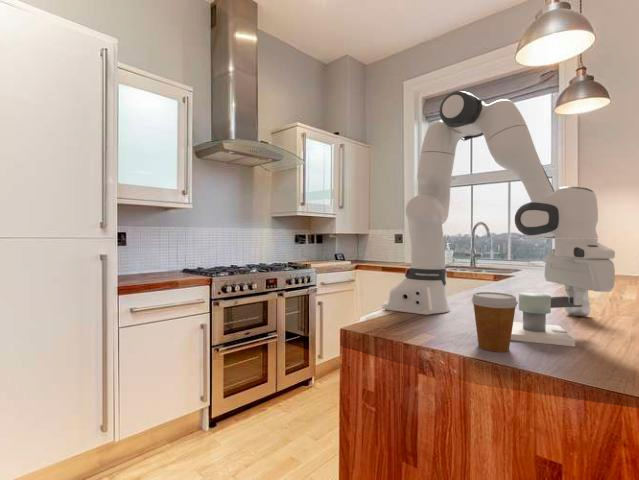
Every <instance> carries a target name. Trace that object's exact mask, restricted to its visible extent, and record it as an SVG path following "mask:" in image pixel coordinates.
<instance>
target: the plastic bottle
mask: <svg viewBox="0 0 639 480" xmlns="http://www.w3.org/2000/svg"><path fill="white" fill-rule="evenodd" d="M567 296H568V295H567V294H566V297H567ZM589 296H590V295H589V290H587V289H586V293H585V294H584V296H583V298H582V307H564V311H565V312H566V314H567V315H570V316H573V317H578V318H579V317H588V316H589V315H590V314H591V303H590V298H589Z"/></svg>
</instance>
